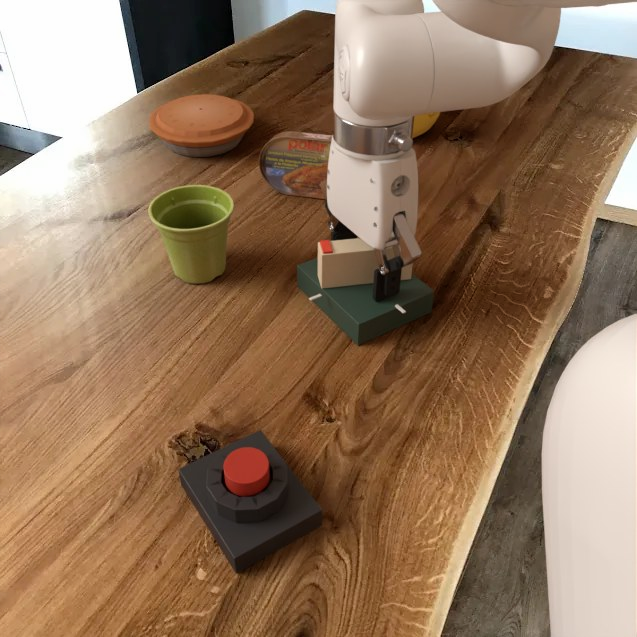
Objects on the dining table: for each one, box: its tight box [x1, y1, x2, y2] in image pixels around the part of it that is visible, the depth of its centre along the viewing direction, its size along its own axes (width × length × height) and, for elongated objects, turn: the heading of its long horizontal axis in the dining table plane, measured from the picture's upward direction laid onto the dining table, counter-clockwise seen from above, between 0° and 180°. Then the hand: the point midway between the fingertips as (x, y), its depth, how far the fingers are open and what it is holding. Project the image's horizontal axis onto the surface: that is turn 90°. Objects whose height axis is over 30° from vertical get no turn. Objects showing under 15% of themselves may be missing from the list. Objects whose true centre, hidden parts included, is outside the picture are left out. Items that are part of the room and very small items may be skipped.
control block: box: [178, 429, 323, 574], centre depth 60 cm, size 10×8×4 cm
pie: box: [148, 93, 255, 158], centre depth 109 cm, size 15×16×5 cm
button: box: [223, 447, 270, 497], centre depth 58 cm, size 4×4×2 cm
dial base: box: [296, 257, 435, 346], centre depth 81 cm, size 14×14×3 cm
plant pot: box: [147, 184, 235, 285], centre depth 83 cm, size 9×9×9 cm
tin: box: [258, 130, 333, 200], centre depth 97 cm, size 15×3×8 cm, turn 76°
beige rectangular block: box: [317, 236, 414, 289], centre depth 79 cm, size 10×2×5 cm, turn 100°
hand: (364, 276), depth 80 cm, fingers open, 7 cm apart
